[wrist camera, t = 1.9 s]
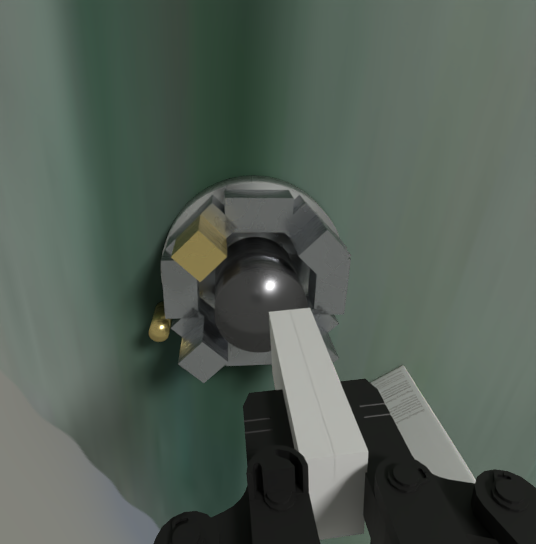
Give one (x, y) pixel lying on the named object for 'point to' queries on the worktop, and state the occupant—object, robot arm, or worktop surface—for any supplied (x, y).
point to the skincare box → (421, 426)
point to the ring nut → (213, 250)
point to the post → (159, 324)
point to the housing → (253, 270)
